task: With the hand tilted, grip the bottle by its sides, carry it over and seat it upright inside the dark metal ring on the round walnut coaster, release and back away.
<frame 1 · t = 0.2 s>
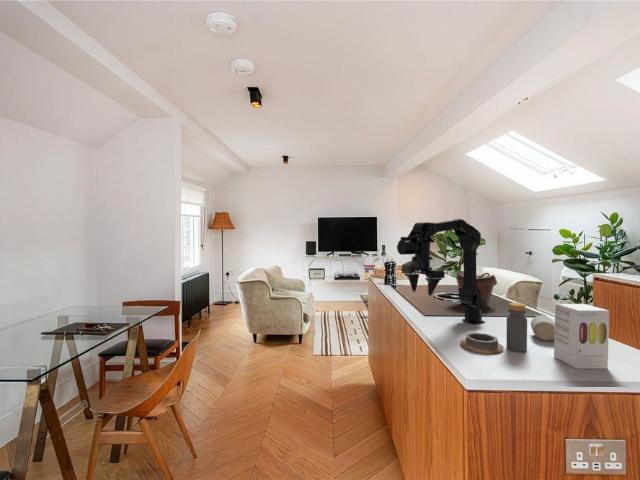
hand: (421, 293, 130), 15 cm above the counter, tool pointing down, fingers open, 9 cm apart
bottle: (516, 349, 109), on the counter
supplement box: (579, 363, 98), on the counter
ring coaster: (481, 346, 112), on the counter
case: (475, 305, 173), on the counter
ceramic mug: (548, 339, 119), on the counter
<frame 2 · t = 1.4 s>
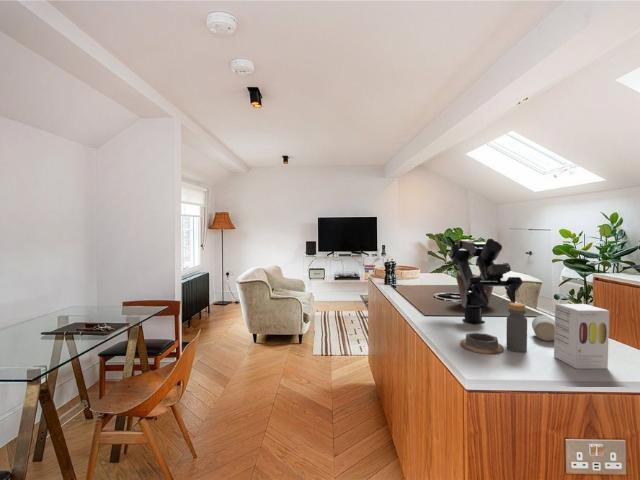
hand: (500, 303, 118), 13 cm above the counter, tool tilted 45°, fingers open, 9 cm apart
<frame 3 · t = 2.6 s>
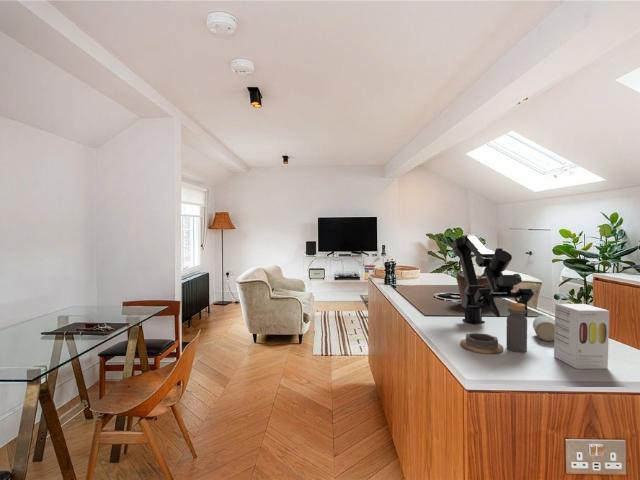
hand: (512, 316, 112), 10 cm above the counter, tool tilted 45°, fingers open, 9 cm apart
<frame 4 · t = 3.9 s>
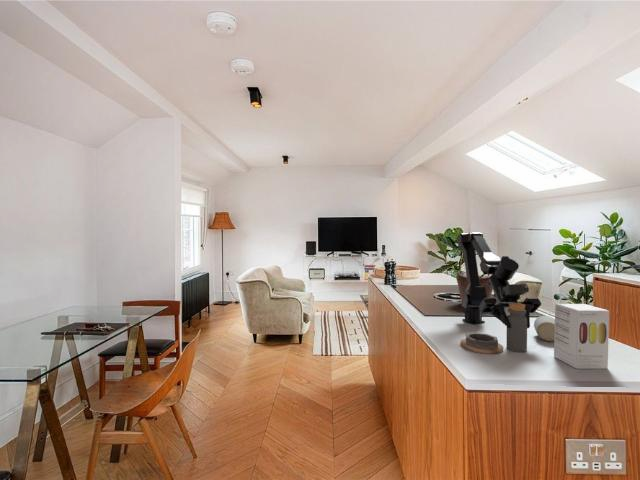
hand: (519, 327, 108), 8 cm above the counter, tool tilted 45°, fingers closed on bottle, 6 cm apart
bottle: (516, 349, 109), on the counter, touching gripper
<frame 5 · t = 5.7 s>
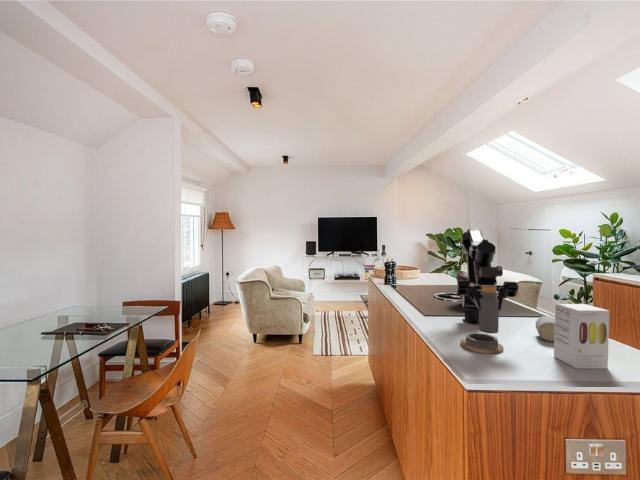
hand: (489, 309, 109), 13 cm above the counter, tool tilted 45°, fingers closed on bottle, 6 cm apart
bottle: (488, 331, 111), point 5 cm above the counter, touching gripper
when the fingers open (9 cm above the counter, at t = 7.4 s): bottle stays where it is, resting on ring coaster.
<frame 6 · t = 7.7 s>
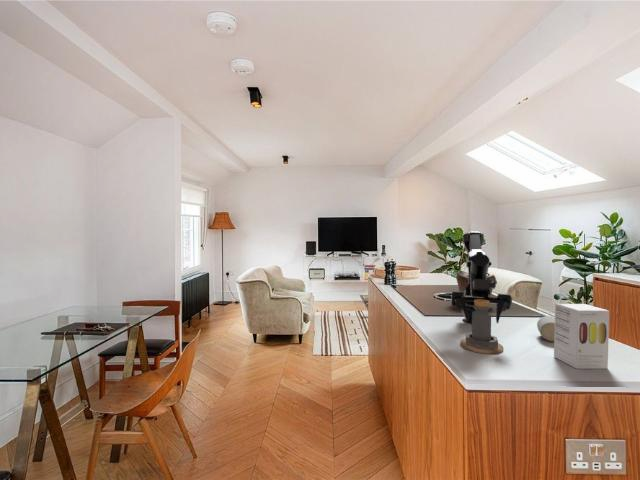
hand: (482, 321, 110), 9 cm above the counter, tool tilted 45°, fingers open, 9 cm apart
bottle: (481, 345, 112), point 1 cm above the counter, touching ring coaster
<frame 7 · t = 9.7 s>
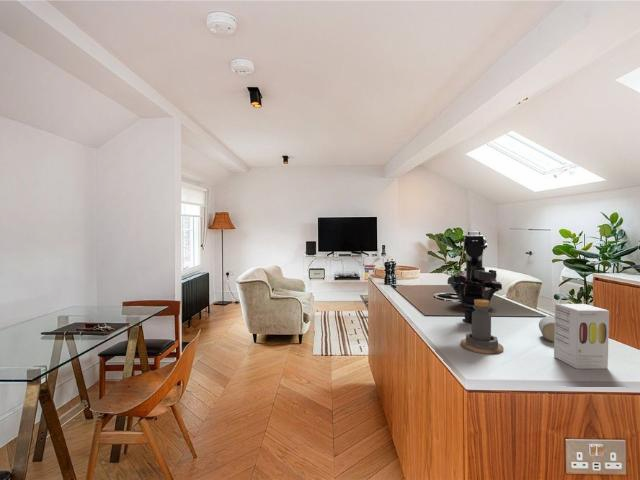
hand: (474, 306, 122), 11 cm above the counter, tool tilted 20°, fingers open, 9 cm apart
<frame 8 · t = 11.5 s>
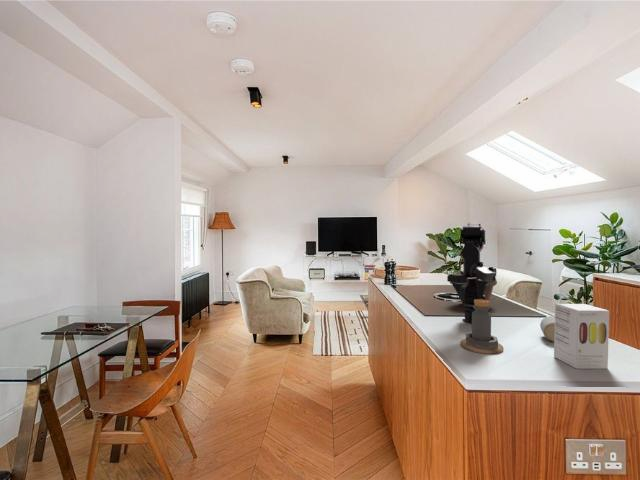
hand: (471, 299, 125), 13 cm above the counter, tool pointing down, fingers open, 9 cm apart
at the end: bottle 0.1 cm from the ring coaster (horizontally); bottle tilted 0°; the gripper is holding nothing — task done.
